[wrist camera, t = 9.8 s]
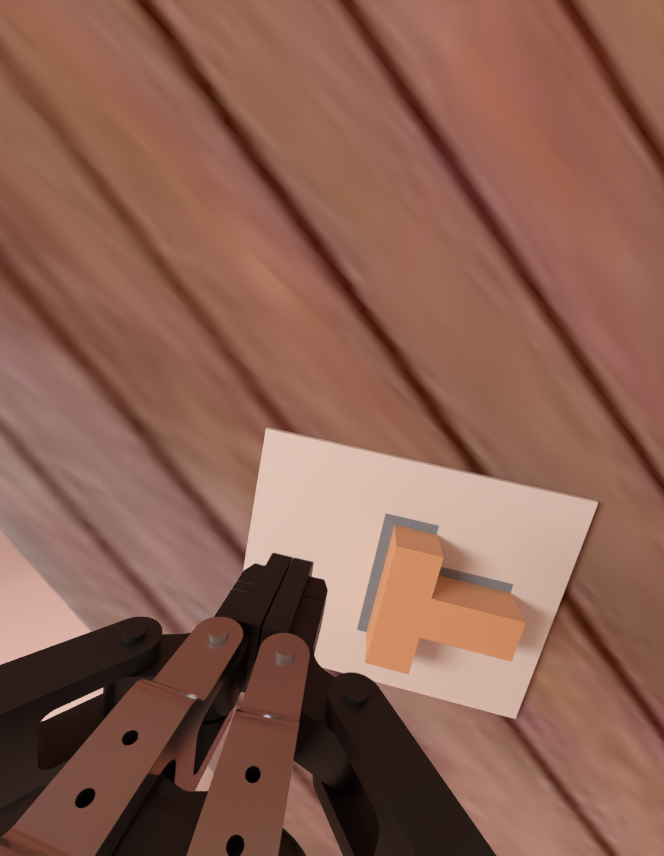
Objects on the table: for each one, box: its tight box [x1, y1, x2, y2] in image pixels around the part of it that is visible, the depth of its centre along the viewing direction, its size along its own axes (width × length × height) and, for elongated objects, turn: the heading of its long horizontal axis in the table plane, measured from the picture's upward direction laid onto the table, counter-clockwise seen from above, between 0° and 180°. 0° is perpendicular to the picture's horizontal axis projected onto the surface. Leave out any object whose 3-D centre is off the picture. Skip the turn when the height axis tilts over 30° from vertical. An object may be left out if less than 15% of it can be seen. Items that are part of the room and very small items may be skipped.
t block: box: [365, 525, 526, 675], centre depth 35 cm, size 12×12×4 cm
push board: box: [243, 427, 599, 719], centre depth 38 cm, size 30×24×1 cm
